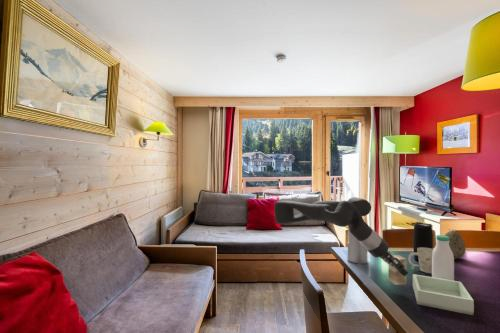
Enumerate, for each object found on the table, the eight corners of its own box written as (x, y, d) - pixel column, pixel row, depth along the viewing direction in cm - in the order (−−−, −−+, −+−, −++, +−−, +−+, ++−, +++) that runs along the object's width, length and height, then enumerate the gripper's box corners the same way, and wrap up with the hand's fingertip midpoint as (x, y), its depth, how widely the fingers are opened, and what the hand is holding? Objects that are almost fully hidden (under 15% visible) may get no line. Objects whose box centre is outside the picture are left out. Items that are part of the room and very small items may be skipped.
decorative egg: (470, 262, 136) (470, 233, 136) (447, 261, 138) (447, 232, 138) (457, 255, 146) (457, 228, 146) (436, 254, 148) (436, 228, 148)
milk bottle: (455, 288, 108) (455, 239, 108) (432, 283, 112) (432, 236, 112) (452, 281, 114) (452, 235, 114) (431, 277, 118) (431, 232, 118)
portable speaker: (420, 263, 134) (420, 225, 134) (409, 257, 144) (409, 221, 144) (437, 263, 134) (437, 225, 134) (425, 257, 144) (425, 221, 143)
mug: (441, 275, 120) (441, 253, 120) (411, 273, 123) (411, 251, 123) (433, 268, 128) (433, 247, 128) (404, 266, 131) (404, 246, 131)
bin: (417, 304, 95) (417, 290, 95) (412, 286, 109) (412, 274, 109) (473, 315, 88) (473, 300, 88) (460, 294, 102) (460, 281, 102)
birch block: (395, 284, 102) (395, 259, 102) (388, 279, 107) (388, 255, 106) (406, 284, 102) (406, 259, 102) (399, 279, 107) (399, 255, 107)
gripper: (357, 243, 111) (385, 271, 111) (375, 255, 97) (407, 287, 97) (370, 230, 111) (397, 258, 112) (389, 240, 97) (421, 272, 97)
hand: (401, 271), depth 104 cm, fingers closed on birch block, 4 cm apart
